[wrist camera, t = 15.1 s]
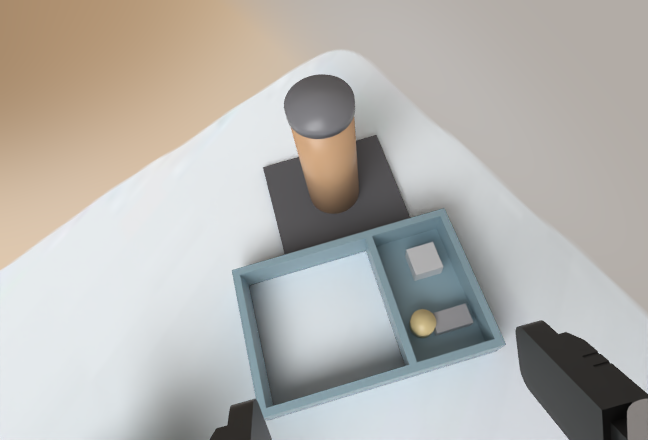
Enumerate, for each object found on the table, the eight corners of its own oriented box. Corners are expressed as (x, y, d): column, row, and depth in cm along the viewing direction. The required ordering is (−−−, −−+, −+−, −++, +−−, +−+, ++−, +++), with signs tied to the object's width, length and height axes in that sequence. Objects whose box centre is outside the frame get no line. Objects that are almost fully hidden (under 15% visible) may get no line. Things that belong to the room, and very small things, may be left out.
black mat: (376, 137, 46) (376, 134, 45) (410, 221, 41) (410, 218, 41) (264, 170, 46) (263, 167, 45) (286, 257, 41) (285, 255, 41)
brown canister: (351, 163, 44) (342, 66, 33) (366, 206, 42) (363, 118, 30) (303, 177, 44) (277, 85, 32) (316, 221, 42) (293, 138, 30)
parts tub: (439, 222, 41) (444, 208, 38) (496, 351, 36) (505, 344, 33) (241, 281, 41) (231, 270, 38) (268, 420, 35) (259, 419, 33)
